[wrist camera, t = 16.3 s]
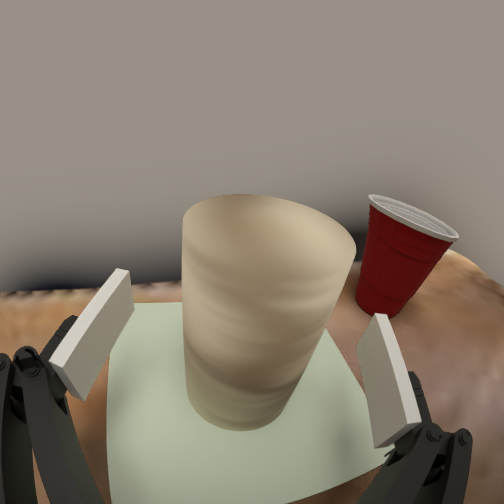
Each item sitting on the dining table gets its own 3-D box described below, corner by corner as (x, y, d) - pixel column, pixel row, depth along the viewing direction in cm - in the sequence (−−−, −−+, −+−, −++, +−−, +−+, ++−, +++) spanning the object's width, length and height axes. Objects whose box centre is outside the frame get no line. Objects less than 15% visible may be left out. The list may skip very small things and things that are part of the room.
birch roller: (270, 343, 21) (310, 198, 15) (302, 419, 15) (389, 271, 9) (181, 351, 19) (180, 192, 13) (194, 437, 13) (189, 282, 7)
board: (301, 305, 28) (305, 294, 27) (387, 461, 13) (398, 454, 12) (119, 315, 22) (116, 303, 22) (121, 519, 8) (114, 518, 7)
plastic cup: (416, 296, 32) (453, 217, 26) (411, 348, 24) (468, 249, 17) (348, 266, 36) (375, 184, 30) (323, 307, 28) (360, 201, 22)
